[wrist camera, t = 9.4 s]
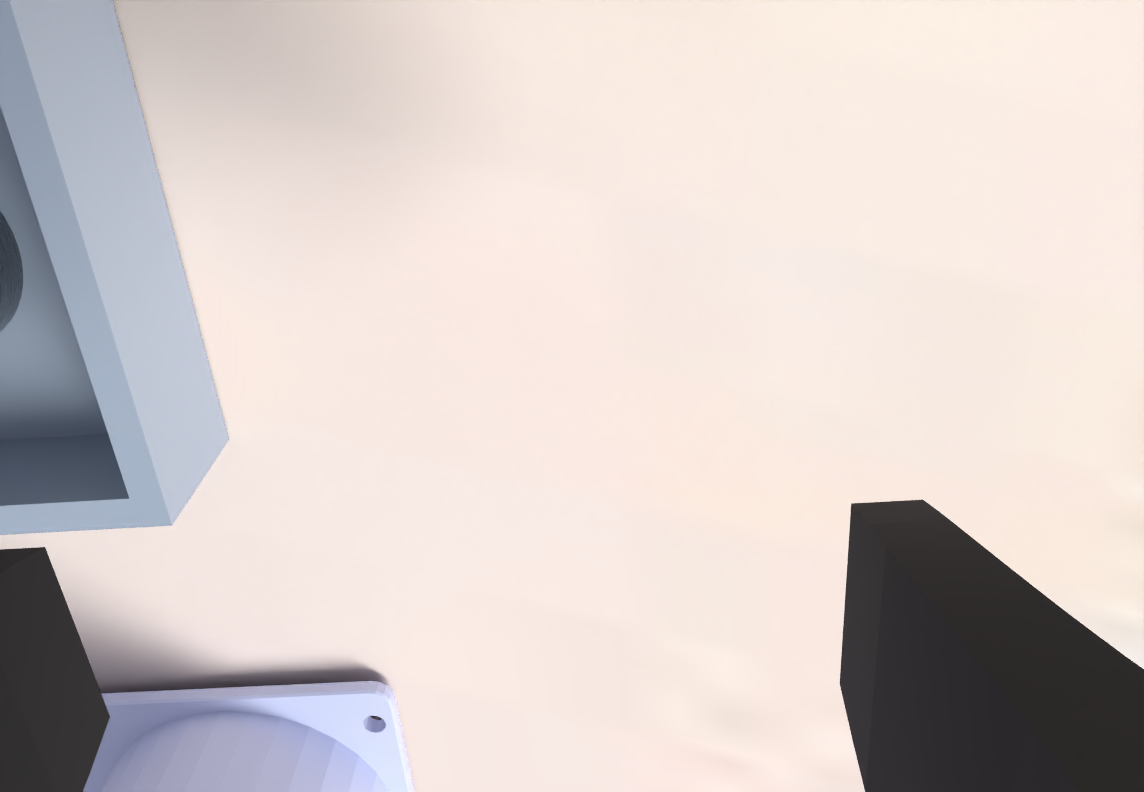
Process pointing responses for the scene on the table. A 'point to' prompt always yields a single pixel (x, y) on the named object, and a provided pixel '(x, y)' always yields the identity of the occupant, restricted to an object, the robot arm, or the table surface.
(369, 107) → the table surface
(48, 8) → the bin
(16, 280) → the cylinder with rectangular bar
